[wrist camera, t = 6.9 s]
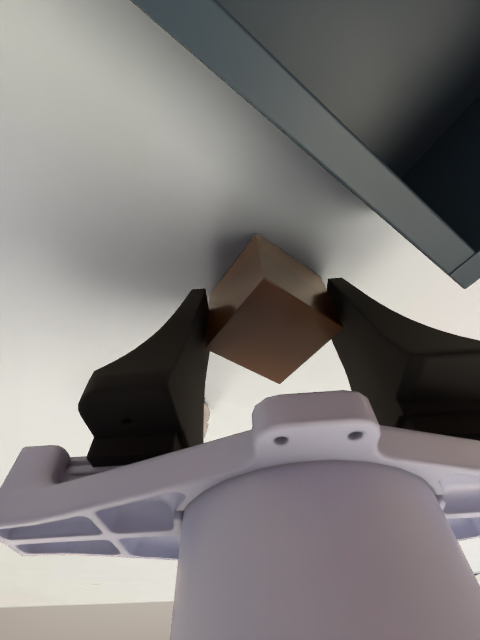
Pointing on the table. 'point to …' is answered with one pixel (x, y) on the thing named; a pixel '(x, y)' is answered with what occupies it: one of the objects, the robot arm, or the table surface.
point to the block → (269, 312)
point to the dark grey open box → (362, 100)
